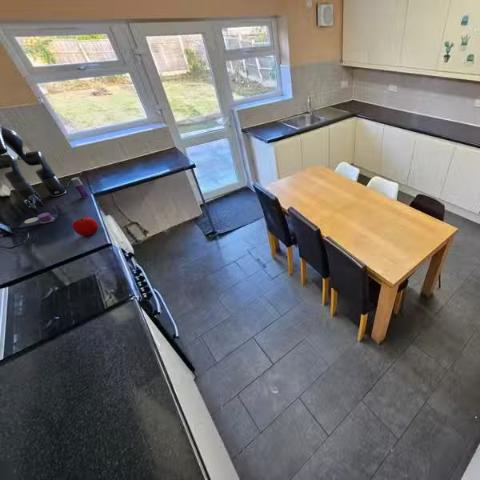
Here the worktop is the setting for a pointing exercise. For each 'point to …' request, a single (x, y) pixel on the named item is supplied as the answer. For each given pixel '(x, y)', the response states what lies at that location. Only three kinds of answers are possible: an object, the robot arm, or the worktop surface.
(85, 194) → the container
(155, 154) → the worktop surface
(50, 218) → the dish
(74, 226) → the tomato
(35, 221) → the mat
